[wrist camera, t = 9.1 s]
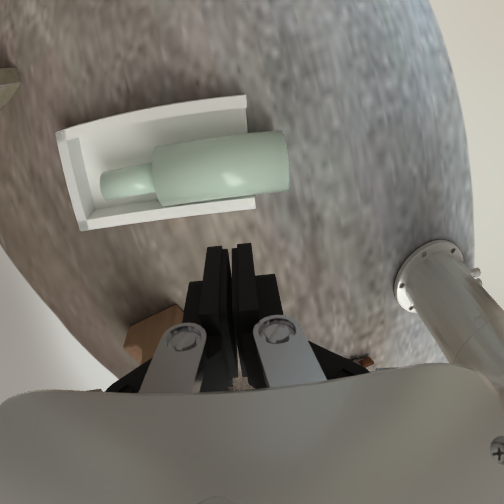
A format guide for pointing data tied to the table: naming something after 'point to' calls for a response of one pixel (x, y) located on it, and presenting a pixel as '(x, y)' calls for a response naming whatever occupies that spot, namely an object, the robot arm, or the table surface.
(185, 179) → the bottle
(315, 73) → the table surface
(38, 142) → the table surface
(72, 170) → the u rest
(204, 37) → the table surface
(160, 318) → the wooden block
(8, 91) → the padlock
